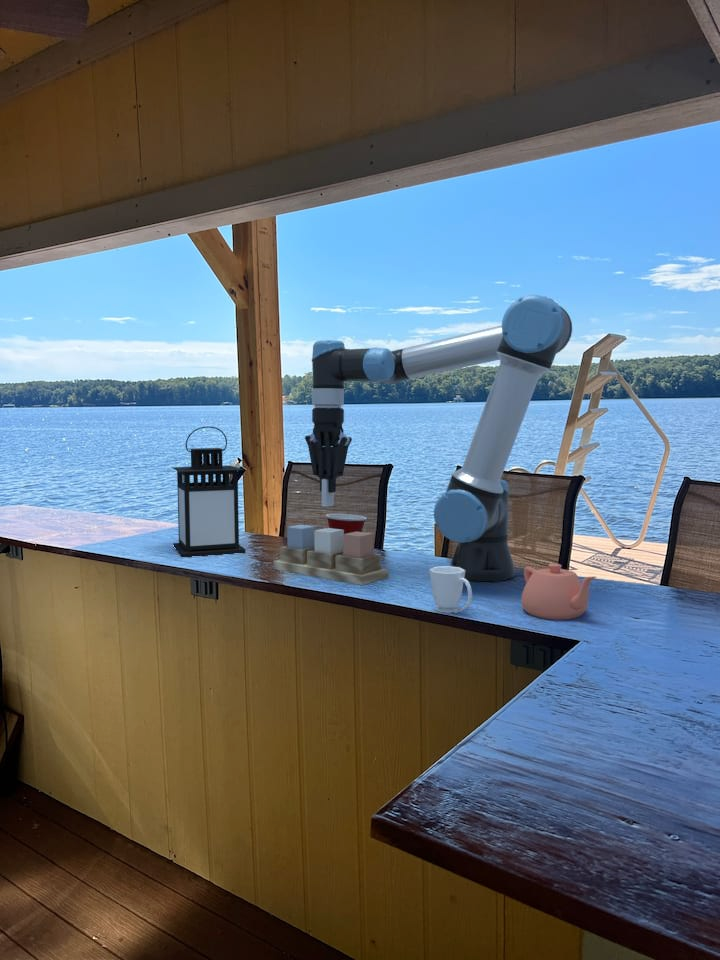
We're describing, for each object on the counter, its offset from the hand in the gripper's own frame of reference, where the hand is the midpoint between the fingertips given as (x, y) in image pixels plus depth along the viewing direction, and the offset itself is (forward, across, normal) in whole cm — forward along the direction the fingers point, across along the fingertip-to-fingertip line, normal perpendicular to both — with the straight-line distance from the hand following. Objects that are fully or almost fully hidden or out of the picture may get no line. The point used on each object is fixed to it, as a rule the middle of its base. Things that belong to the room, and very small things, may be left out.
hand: (327, 505), depth 176 cm
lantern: (+17, +46, -2) cm, 50 cm away
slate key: (+12, +9, 0) cm, 15 cm away
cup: (+16, -42, +11) cm, 46 cm away
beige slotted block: (+16, 0, 0) cm, 16 cm away
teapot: (+16, -58, 0) cm, 61 cm away
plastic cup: (+17, +6, -15) cm, 23 cm away
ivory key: (+12, 0, 0) cm, 12 cm away
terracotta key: (+12, -9, 0) cm, 15 cm away
